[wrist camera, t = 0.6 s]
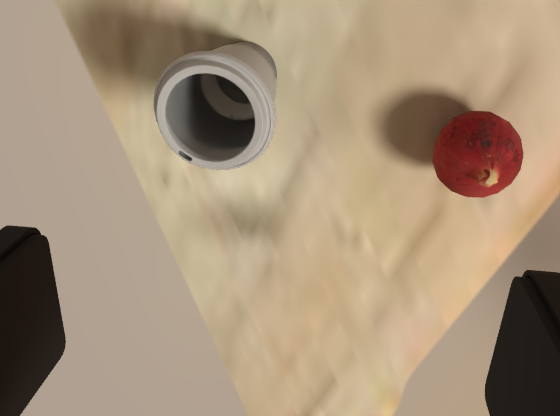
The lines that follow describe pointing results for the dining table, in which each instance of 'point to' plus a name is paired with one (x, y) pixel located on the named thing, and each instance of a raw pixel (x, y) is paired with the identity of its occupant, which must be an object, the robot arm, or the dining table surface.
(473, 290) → the dining table surface
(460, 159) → the onion
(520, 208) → the dining table surface
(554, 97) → the dining table surface
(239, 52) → the cup
